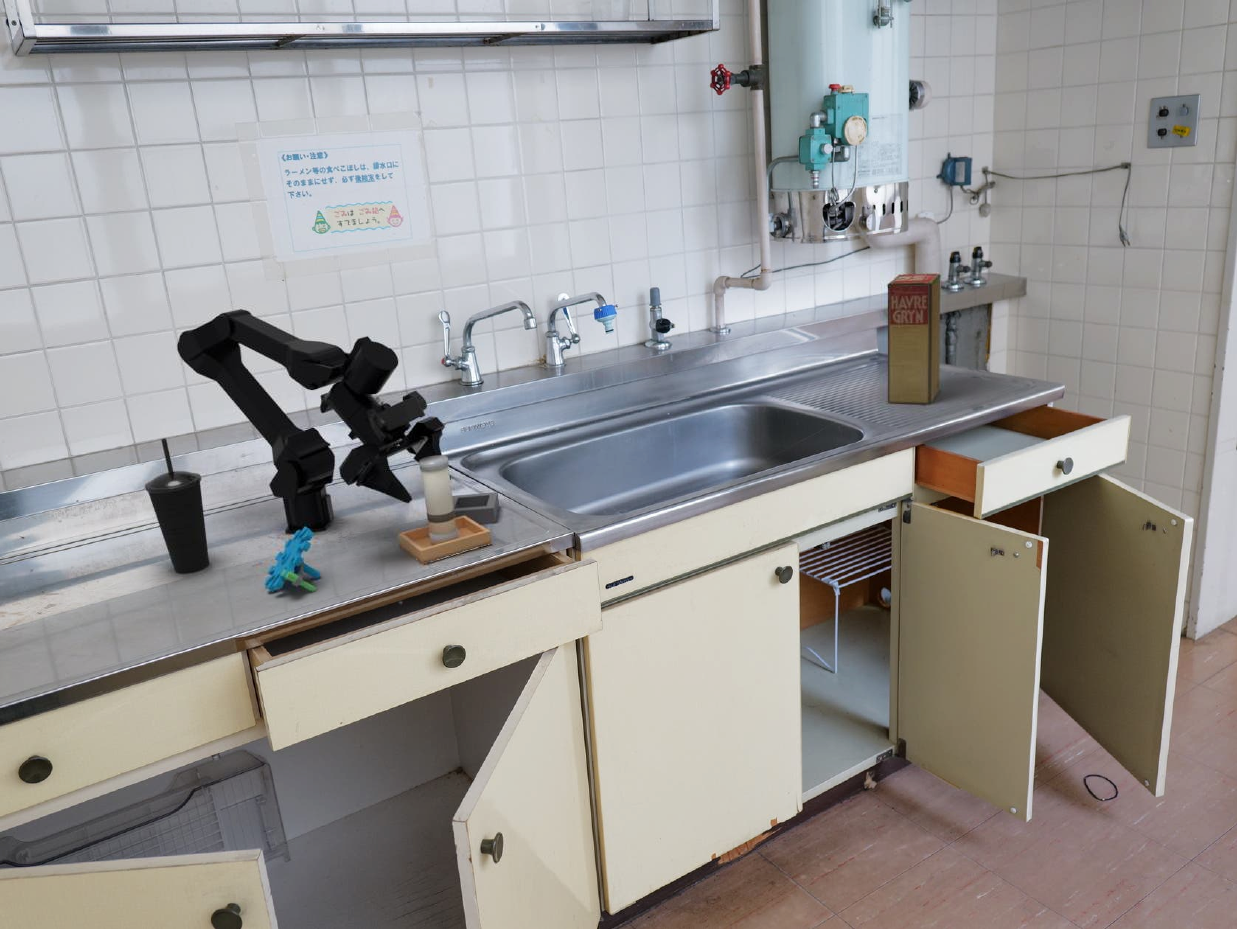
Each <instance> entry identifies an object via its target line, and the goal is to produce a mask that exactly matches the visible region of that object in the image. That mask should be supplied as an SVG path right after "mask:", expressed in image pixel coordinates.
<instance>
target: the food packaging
mask: <svg viewBox="0 0 1237 929" xmlns="http://www.w3.org/2000/svg"><path fill="white" fill-rule="evenodd" d="M941 276H942V275H941V274H940V273H914V274H913V273H908V274H906V273H905V274H898V275H897V276H896V277H894V278H893V280H891V281H890V282H889V283H887V285H886V286H887V404H894V405H895V404H897V405H927V406H928V405H929V406H930V405H932V403H933V402H934V400H935V398H936V397H937V396H938V395H939V393H940V370H941V369H940V365H941V364H940V362H941V361H940V360H941V359H940V358H941V357H940V356H941V355H940V352H941V351H940V350H941Z"/></svg>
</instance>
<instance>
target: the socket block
mask: <svg viewBox="0 0 1237 929" xmlns="http://www.w3.org/2000/svg"><path fill="white" fill-rule="evenodd" d="M452 497H453V505H454V510H455V518H457V517H461V516H464V515H465V516H467V517H468V518H470V519H471V520H473V521H475V522H476V523H478V524H479V525H485V524H495V523H497V522H496V521H497V518H498V513H499V509H500V500H499V493H498V492H497V491H496V492H482V493H470V494H460V495H459V494H457V495H452Z"/></svg>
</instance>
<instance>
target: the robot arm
mask: <svg viewBox="0 0 1237 929" xmlns="http://www.w3.org/2000/svg"><path fill="white" fill-rule="evenodd" d="M178 338H179V339H178V341H177V345H176V348H177V349H176V350H177V352H178V355H179V357H180V359H181V360H182V361H184V363H185V364H187V366H188V367H189V368H191V369H192V370H193V371H194V372H195V373H197V375H201V376H203V377H204V378H207V379H209V380H212V381H214V382H216V383H217V384H218V385H219V387H221V389H222V390H223V391H224V392H225V394H226V395H227V396H229V398H230V400H231V401H232V402H234V404H235V405H236V406H237V408H238V409H239V411H241V412H242V414H244V416H245V417H246V419H247V420H248V421H249V422H250V423H251V424H252V426H254V428H256V430H257V431H258V433H260V435H261V436H262V437H263V439H264V440H265V442H267V443H268V445H269V446H270V447H271V452H272V460H273V466H274V467H275V468H276V470H277V472H276V473H275V475H274V476H273V478H272V479H271V481H270V482H269V485H268V486H269V488H270V490H271V493H272V495H273V496H274V497H275V498H282V502H283V509H284V512H285V516H286V518H285V519H286V524H287V526H286V527H285V529H284V532H285V534H293V533H294V534H295V533H296V531H298V530H301V531H302V530H303V528H304V527H307V528H308V529H310V530H311V532H316V531H318V532H319V531H325V530H326V529H327V528H328V527H329V525H330V523H331V522H333V519H334V518H335V514H334V509H333V508H334V507H333V503H332V496H331V494H330V493H328V492H327V487H326V486H327V485H330V484H332V483H333V482H334V481H333V480H334V473H335V467H336V464H335V463H336V456H335V454H334V451H333V450H332V448H330V447H331V443H330V442H328V441H326V439H325V438H323V436H322V435H321V433H320V432H319V430H318V429H316V428H315V427H309V428H308V429H301V428H299V427H298V426H296V425H295V423H294V422H293V421H292V420H291V418H290V417H289V416H288V415H287V414H286V412H285V411H283V409H282V408H281V407H280V406H279V405H278V404H277V402H276V401H275V400H274V399H273V397H272V396H271V395H270V394H269V393H268V392H267V391H266V390H265V388H264V386H262V384H260V382H259V381H258V380H257V379H256V377H255V376H254V375H253V374H252V373H251V371H249V369H248V368H247V367H246V365H244V363H243V361H242V349H241V346H244V347H246V348H248V349H250V350H252V351H253V352H256V353H257V354H260V355H262V356H263V357H265V358H268V359H270V360H271V361H273V362H275V363H278V364H279V365H281V366H282V367H283V368H285V369H286V371H287V373H288V375H289V376H288V377H290V379H292V380H294V381H295V382H296V383H297V384H299V385H300V386H301V387H303V388H304V389H306V390H309V391H316V390H319V389H323V388H325V387H327V386H331V385H332V386H331V388H330V389H329V391H328V392H325V393H323V394H320V406H319V409H320V410H319V411H320V413H321V414H325V413H328V412H330V411H331V412H332V411H334V412H335V413H336V415H337V416H338V417H339V418H340V419H341V420H342V422H344V424H345V425H346V426H347V427H348V428H349V430H350V432H349V433H348V434H347V436H348V437H349V439H351V441H353V440H357V439H358V440H359V441H360V442H361V443H362V444H361V445H359V446H357V447H354V448H351V450H350V452H349V453H348V454H347V455H346V458H344V460H343V462H342V463H341V464H340V466H339V467H338V469H339V475H340V478H341V479H342V480H343V482H344V483H345V484H346V486H350V485H351V486H352V485H353V484H355V486H356V487H365V488H367V489H370V490H372V491H376V492H379V493H382V494H384V495H386V496H389V497H391V498H394V499H396V500H399V501H401V502H403V503H405V504H410V503H411V502H412V500H413V498H412V496H411V494H410V493H409V491H408V489H407V488H406V487H405V486H404V484H403V483H402V482H401V481H400V480H399V478H398V477H397V476H396V475H395V474H394V473H393V471H392V470H391V468H390V464H389V461H388V458H389V457H392V456H394V455H397V454H399V453H401V452H403V451H405V450H406V451H407V452H408V453H409V454H411V455H414V456H413V460H414V461H416V462H417V463H418V464H419V460H421V459H423V458H425V457H429V456H437V455H441V456H443V453H442V451H441V446H440V442H441V437H442V436H443V430H444V429H445V428H446V425H445V424H444V423H443V422H442V421H441V420H440V418H438V416H428V417H426V418H423V417H425V416H426V413H425V412H424V411H425V410H427V409H428V408H427V407H428V404H427V400H426V399H425V398H424V397H423V396H422V395H421V394H420V392H418V391H417V390H414V391H411V392H409V393H407V394H405V395H403V396H402V401H400V402H397V403H395V404H393V405H391V404H390V403H387V402H385V403H382V404H380V403H379V401H378V400H377V399H376V398H375V397H374V396H373V395H377V394H379V393H380V392H381V391H382V390H383V388H384V386H385V385H386V383H387V382H388V380H389V379H390V378H391V376H392V375H393V373H394V372H395V370H396V369H397V367H398V365H399V357H398V356H397V354H396V352H395V351H394V350H393V349H392V348H391V347H388V346H386V345H385V344H383V343H381V342H378V341H375V340H374V341H373V340H371V338H370V337H369V335H367V336H362V337H360V338H357V339H356V341H355V342H354V344H353V346H352V350H351V351H350V352H346V351H344V350H343V348H341V347H340V346H338V345H337V344H336V345H335V344H332V343H328V342H323V341H315V340H306V339H303V338H299V337H297V336H295V335H293V334H291V333H289V332H287V331H285V330H283V329H281V328H279V327H276V326H275V325H273V324H270V323H269V322H267V321H265V320H264V319H263V320H262V319H261V318H259V317H256V316H255V315H253V314H252V313H251V312H250V311H249V310H247V309H242V308H240V309H235V310H231V311H227V312H226V311H225V312H221V313H220V314H218V315H216V316H215V317H214V318H213V319H212V320H209V321H208V322H206V323H203V324H202V325H200V326H198V327H195V328H193V329H188V330H185V331H183V332H181V333H180V335H179V337H178ZM240 345H241V346H240ZM419 418H423V419H421V420H419V421H417V422H416V423H415V424H414V425H413V426H412V425H411V422H413V421H415V420H416V419H419ZM411 426H412V428H411ZM410 428H411V429H410ZM409 429H410V431H409ZM407 431H409V432H408V433H407V434H405V433H406V432H407ZM449 475H450V473H449ZM450 481H452V477H451V475H450Z"/></svg>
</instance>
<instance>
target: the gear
mask: <svg viewBox="0 0 1237 929" xmlns="http://www.w3.org/2000/svg"><path fill="white" fill-rule="evenodd" d="M313 537H314V531H311V530H310V529H308V528H307V527H304V528H303V530H302V531H301V530H298V531H296V532H295V533H294V535H293V537H292V538H288V540H287V541H286V542H285V544H284V549H283V552H281V551H279V552H278V553H277V555H276V556H275V557H274V560H275V561H277V563H276V564H275V565H271V566H270V568H269V569H268V571H267V574H268V575H269V576H268V577H267V578H266V580H265V581H264V585H265V586H266V588H267V590H269V591H270V592H272V593H273V592H274V591H276V589H278V590H280V589H281V588H282V587H283V586H284V583H285V581H290V583H291V585H293V586H294V587H298V586H301V587H303V588H305V589H306V590H308V591H310V592H312V593H313V592H315V591H316V586H314V585H312V584H310V583H309V582H307V581H306V580H303V579H304V573H305V574H307V575H309V576H311V577H312V578H314V579H316V580H318V579H319V578H320V577H321V574H322V573H321V572H320V571H319V570H317V569H315V568H313V567H311V566H310V565H308V564H306V563H305V562H304V561H305V557H302V553H304V552H305V553H307V552H308V551H309V550H310V549H311V546H312V543H311V542H309V541H311V540H312V539H313Z"/></svg>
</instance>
